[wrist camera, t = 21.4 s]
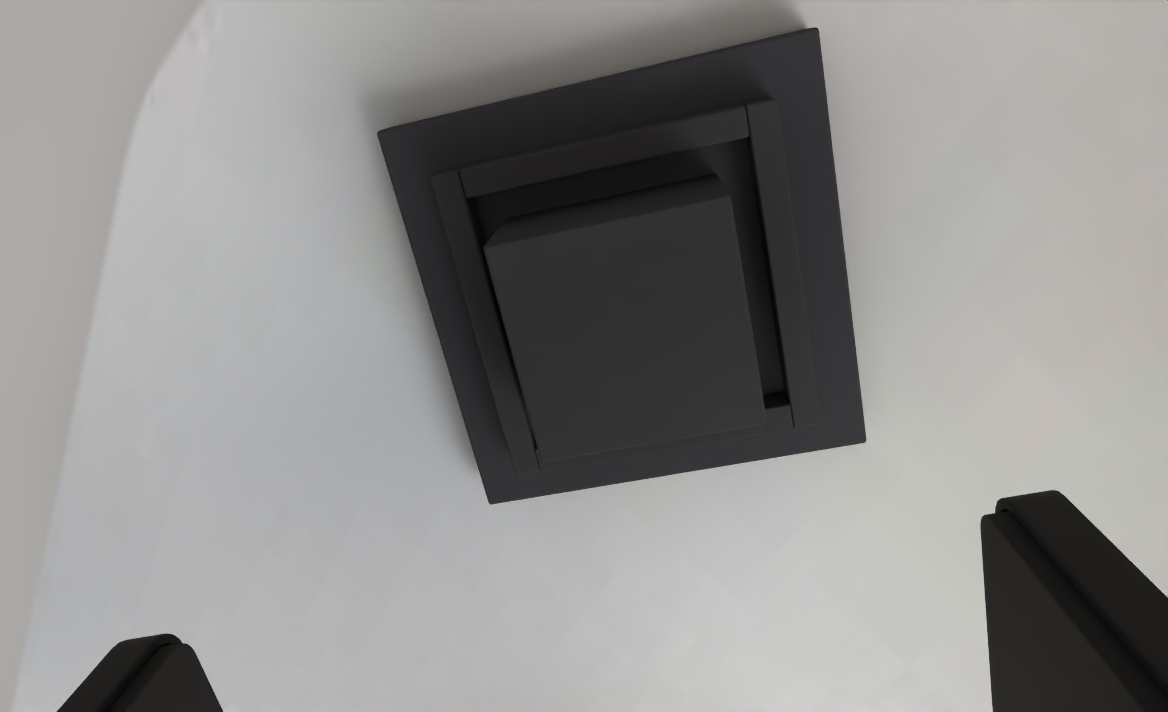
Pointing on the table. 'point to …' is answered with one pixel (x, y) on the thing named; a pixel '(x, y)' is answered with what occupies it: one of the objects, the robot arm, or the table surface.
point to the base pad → (624, 164)
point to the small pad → (629, 319)
